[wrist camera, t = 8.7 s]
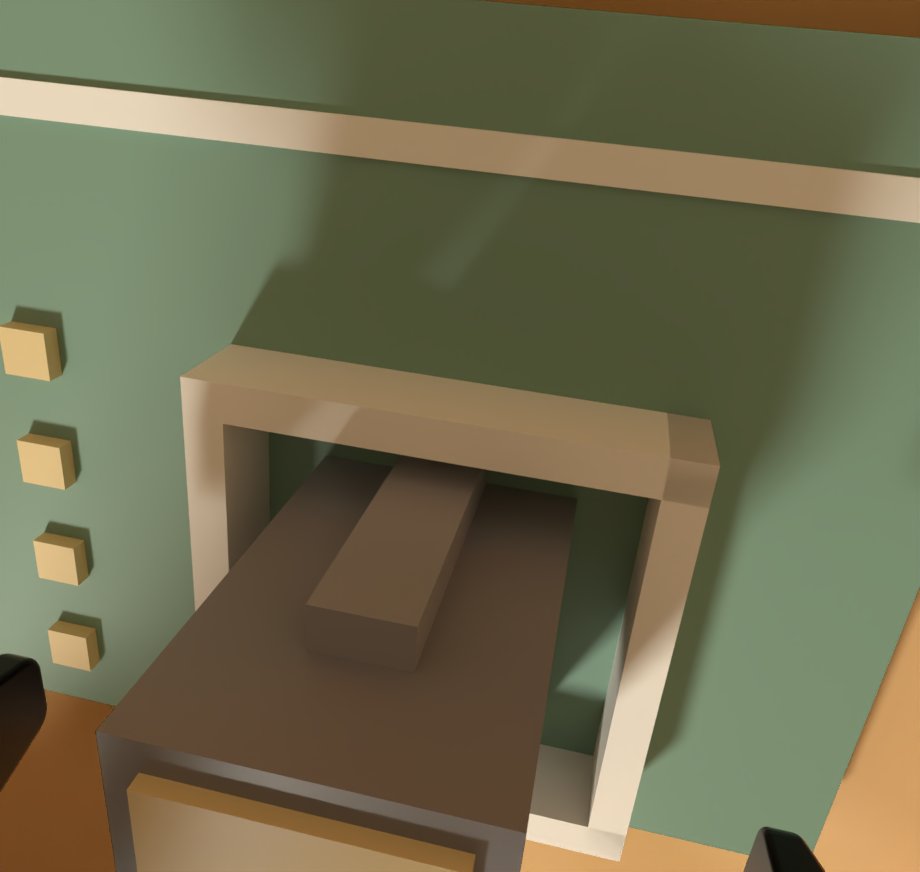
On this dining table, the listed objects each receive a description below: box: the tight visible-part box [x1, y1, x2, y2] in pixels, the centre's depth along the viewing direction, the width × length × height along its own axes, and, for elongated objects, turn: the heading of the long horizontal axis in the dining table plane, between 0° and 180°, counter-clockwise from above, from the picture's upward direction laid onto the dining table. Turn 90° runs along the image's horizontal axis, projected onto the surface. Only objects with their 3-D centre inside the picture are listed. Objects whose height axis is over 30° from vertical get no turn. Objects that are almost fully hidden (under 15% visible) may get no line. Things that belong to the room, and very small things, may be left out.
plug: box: [95, 455, 577, 872], centre depth 10 cm, size 4×5×6 cm
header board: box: [0, 0, 920, 862], centre depth 12 cm, size 16×13×3 cm
